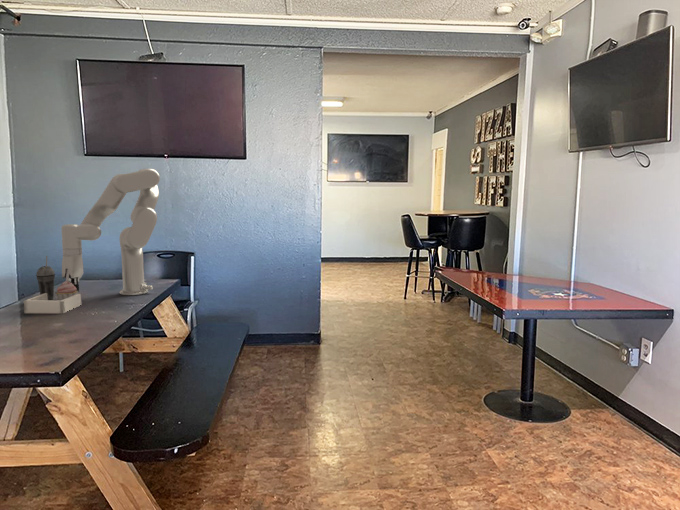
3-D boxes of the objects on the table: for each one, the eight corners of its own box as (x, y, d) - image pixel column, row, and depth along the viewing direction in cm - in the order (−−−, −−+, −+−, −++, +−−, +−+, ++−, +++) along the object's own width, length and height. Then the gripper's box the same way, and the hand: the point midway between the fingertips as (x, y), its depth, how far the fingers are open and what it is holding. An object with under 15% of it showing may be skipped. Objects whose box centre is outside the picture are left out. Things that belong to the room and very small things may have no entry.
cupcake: (68, 306, 208) (67, 282, 207) (50, 304, 210) (48, 281, 209) (84, 301, 217) (83, 279, 216) (66, 299, 219) (65, 277, 218)
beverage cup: (33, 301, 215) (30, 256, 212) (48, 298, 222) (45, 254, 219) (46, 303, 213) (43, 257, 210) (60, 299, 220) (57, 255, 217)
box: (81, 305, 210) (80, 293, 209) (63, 313, 196) (62, 301, 195) (45, 304, 210) (44, 293, 209) (24, 313, 196) (23, 300, 195)
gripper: (73, 250, 225) (75, 289, 227) (54, 254, 210) (56, 296, 212) (89, 250, 225) (91, 289, 227) (71, 254, 210) (74, 296, 212)
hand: (74, 292), depth 220 cm, fingers closed
